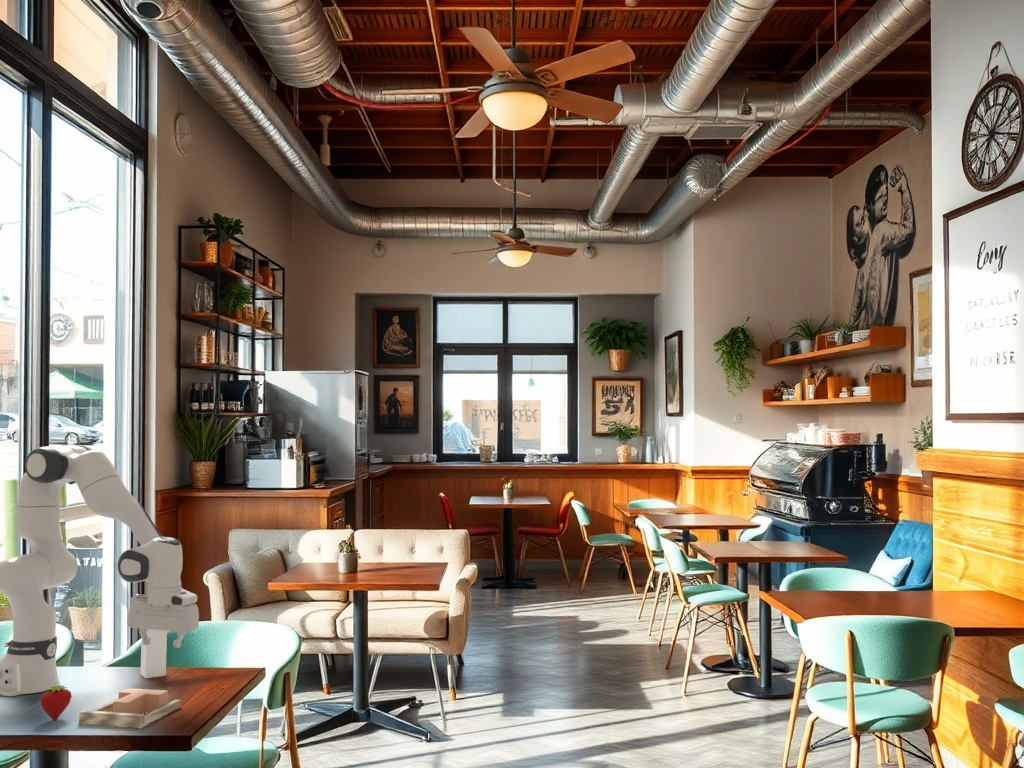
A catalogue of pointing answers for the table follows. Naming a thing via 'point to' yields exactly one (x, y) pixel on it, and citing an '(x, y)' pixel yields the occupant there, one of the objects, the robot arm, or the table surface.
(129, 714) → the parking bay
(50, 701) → the strawberry
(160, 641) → the milk
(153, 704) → the T block
